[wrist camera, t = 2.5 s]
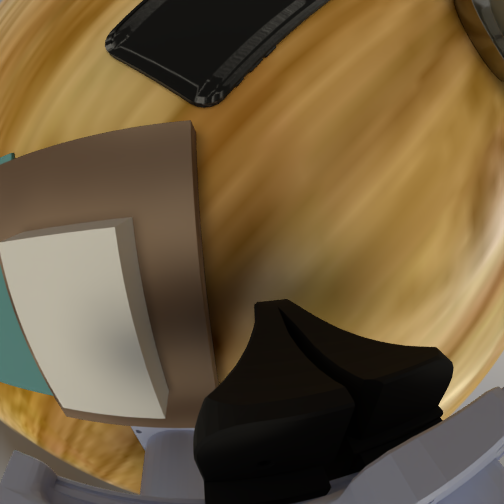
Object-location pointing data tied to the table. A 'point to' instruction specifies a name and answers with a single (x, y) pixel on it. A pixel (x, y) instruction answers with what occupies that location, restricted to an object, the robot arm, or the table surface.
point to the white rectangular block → (87, 316)
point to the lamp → (485, 30)
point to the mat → (16, 344)
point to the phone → (204, 41)
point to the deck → (146, 239)
